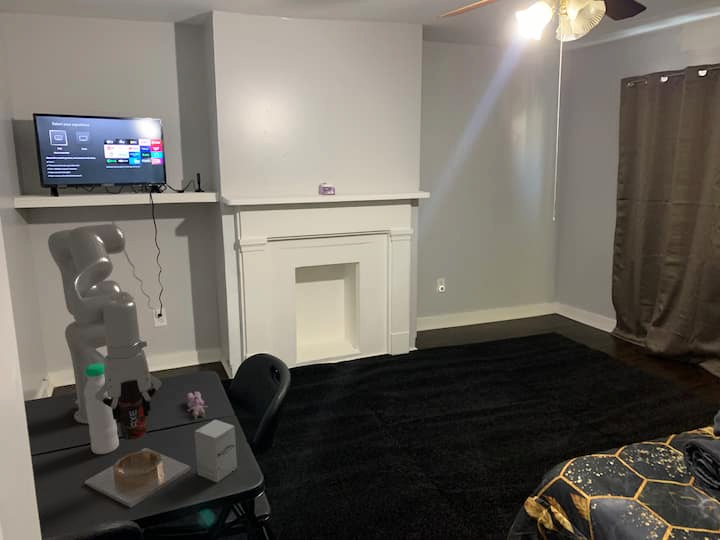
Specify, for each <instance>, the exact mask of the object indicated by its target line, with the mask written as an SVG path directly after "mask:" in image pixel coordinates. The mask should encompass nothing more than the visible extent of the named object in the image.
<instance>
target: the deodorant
mask: <svg viewBox="0 0 720 540" xmlns="http://www.w3.org/2000/svg"><path fill="white" fill-rule="evenodd" d="M117 404H118V407H119V414H120V423H119V426H120V434H121V438H122V439H124V440H136V439H140V438H142V437H144V436H145V435H146V434H147V432H148V430H147V420H146V419H147V418H146V416H145V411H144V402H143V395H142V392H140V390H139V387H138V382H137V380H134V381H129V382H124V383H121V396H120V397H119V399H118V402H117Z"/></svg>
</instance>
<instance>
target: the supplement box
mask: <svg viewBox="0 0 720 540" xmlns="http://www.w3.org/2000/svg"><path fill="white" fill-rule="evenodd" d="M235 427H236V426H235V425H233V424H230V423H227V422H223V421H221V420H217V419H213V420H211V421H210V422H209V423H207V424H204V425H203V426H201V427H199V428H197V429H196V430H195V431H194V441H195V442H194V443H195V454H196V455H195V457H196V467H197V469H196V470H197V475H198V476H201V477H203V478H205V479H208V480H210V481H212V482H215V483H219V482H220V481H222V479H224V478H226V477H227V476H228V475H230V474H231V473H233V472H234V471H236V470H237V469H238V461H237V446H236V433H235V432H236V430H235ZM236 468H237V469H236ZM235 469H236V470H235ZM232 471H233V472H232Z"/></svg>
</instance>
